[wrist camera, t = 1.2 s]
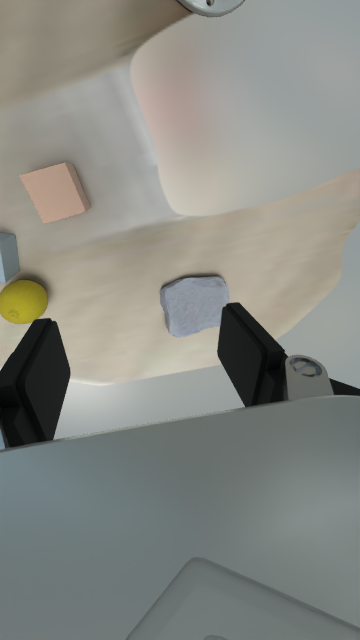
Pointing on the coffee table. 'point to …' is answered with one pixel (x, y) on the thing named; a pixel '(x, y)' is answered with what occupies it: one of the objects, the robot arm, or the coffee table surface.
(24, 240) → the coffee table surface
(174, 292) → the stone block
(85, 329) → the coffee table surface
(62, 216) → the terracotta block
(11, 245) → the slate block
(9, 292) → the lemon
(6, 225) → the coffee table surface
